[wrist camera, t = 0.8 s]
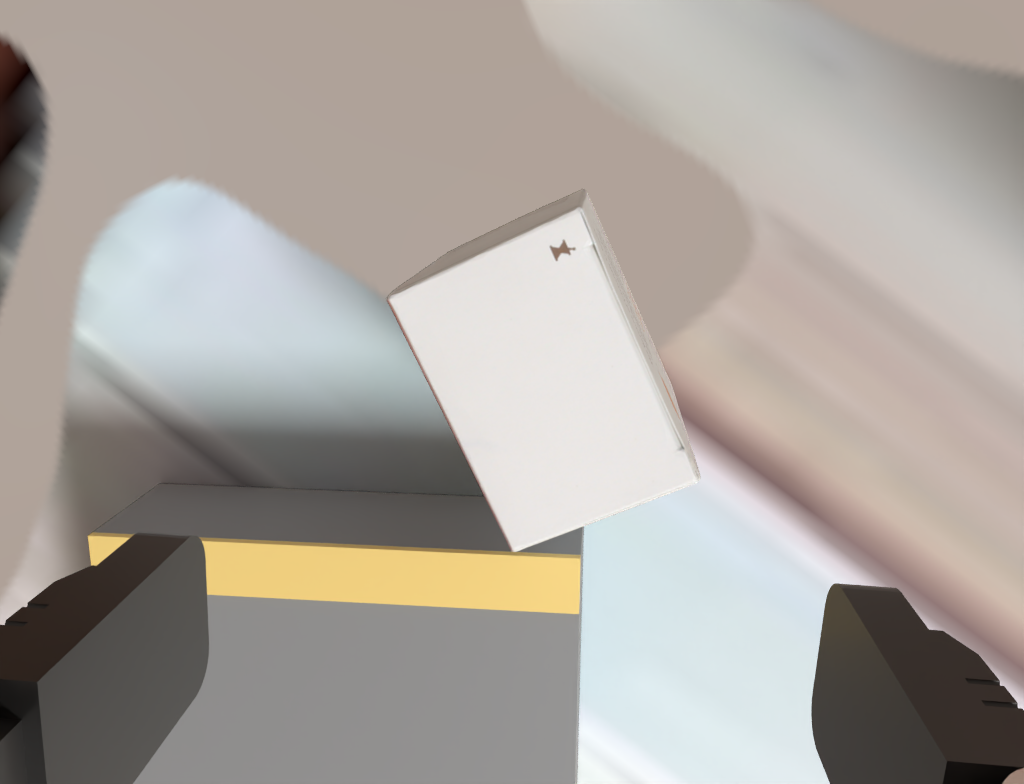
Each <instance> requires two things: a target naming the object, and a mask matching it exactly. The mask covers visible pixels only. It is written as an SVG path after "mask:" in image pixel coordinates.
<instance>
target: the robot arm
mask: <svg viewBox="0 0 1024 784" xmlns="http://www.w3.org/2000/svg"><path fill="white" fill-rule="evenodd" d="M208 657H209V630H208V605H207V581H206V558H205V550H204V546H203V543H202V541H201V539H200V538H199V537H198V536H194V535H180V534H166V533H152V532H138V533H136V534H134V535H133V536H132V537H131V538H129V539H128V540H127V541H126V542H125V543H123V544H122V545H121V546H120V547H119V548H117V549H116V550H115V551H114V552H113V553H111V554H110V555H109V556H108V557H106V558H105V559H104V560H103V561H102V562H100V563H99V564H98V565H97V566H96V565H92V566H90V567H87V568H85V569H83V570H81V571H78V572H76V573H74V574H71V575H69V576H67V577H65V578H62V579H60V580H58V581H55V582H54V583H52V584H51V585H50V586H49V587H47V588H46V589H45V590H44V591H42V592H41V593H40V594H38V595H37V596H36V597H35V598H33V599H32V600H31V601H30V602H28V606H27V607H22V608H21V609H20V610H18V611H17V612H16V613H15V614H13V615H12V616H11V617H9V618H8V619H7V620H6V623H5V625H0V784H133V783H134V782H135V780H136V779H137V777H138V776H139V775H140V773H141V772H142V771H143V769H144V768H145V766H146V765H147V764H148V762H149V761H150V760H151V758H152V757H153V755H154V754H155V753H156V751H157V750H158V749H159V747H160V746H161V744H162V743H163V742H164V740H165V739H166V737H167V736H168V735H169V733H170V732H171V731H172V729H173V728H174V726H175V725H176V724H177V722H178V721H179V720H180V718H181V717H182V715H183V714H184V713H185V711H186V710H187V708H188V707H189V706H190V704H191V703H192V702H193V700H194V699H195V697H196V696H197V694H198V692H199V690H200V688H201V686H202V683H203V680H204V677H205V673H206V669H207V664H208ZM812 729H813V736H814V741H815V745H816V749H817V752H818V754H819V757H820V759H821V762H822V764H823V767H824V769H825V772H826V774H827V777H828V779H829V782H830V784H1024V710H1023V709H1019V708H1018V707H1017V702H1016V701H1015V699H1014V698H1013V697H1012V696H1011V694H1010V693H1009V692H1008V691H1007V689H1006V688H1005V687H1004V686H1000V681H999V679H998V678H997V677H996V676H995V674H994V673H993V672H992V671H991V670H990V668H989V667H988V666H987V665H986V663H985V662H984V661H983V660H982V658H981V657H980V656H979V655H978V654H977V653H975V652H974V651H972V650H971V649H969V648H968V647H966V646H965V645H963V644H962V643H960V642H959V641H957V640H956V639H954V638H953V637H951V636H950V635H948V634H947V633H945V632H944V631H938V630H929V629H928V628H927V627H926V625H925V624H924V623H923V621H922V620H921V619H920V617H919V616H918V615H917V613H916V612H915V610H914V609H913V608H912V606H911V605H910V604H909V602H908V601H907V600H906V598H905V597H904V596H903V594H902V593H901V592H900V591H899V590H898V589H897V588H889V587H875V586H862V585H848V584H833V585H832V586H831V588H830V590H829V592H828V595H827V599H826V604H825V610H824V617H823V624H822V631H821V638H820V645H819V653H818V660H817V667H816V674H815V681H814V688H813V696H812Z"/></svg>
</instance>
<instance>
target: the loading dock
mask: <svg viewBox="0 0 1024 784" xmlns="http://www.w3.org/2000/svg"><path fill="white" fill-rule="evenodd" d="M138 532H152V533H166V534H180V535H194V536H198V537H199V538H200V539H201V541H202V543H203V546H204V550H205V558H206V581H207V605H208V630H209V657H208V664H207V669H206V673H205V677H204V680H203V683H202V686H201V688H200V690H199V692H198V694H197V696H196V697H195V699H194V700H193V702H192V703H191V704H190V706H189V707H188V708H187V710H186V711H185V713H184V714H183V715H182V717H181V718H180V720H179V721H178V722H177V724H176V725H175V726H174V728H173V729H172V731H171V732H170V733H169V735H168V736H167V737H166V739H165V740H164V742H163V743H162V744H161V746H160V747H159V749H158V750H157V751H156V753H155V754H154V755H153V757H152V758H151V760H150V761H149V762H148V764H147V765H146V766H145V768H144V769H143V771H142V772H141V773H140V775H139V776H138V777H137V779H136V780H135V782H134V783H133V784H577V769H578V730H579V691H580V652H581V613H582V574H583V535H584V526H583V527H581V528H578V529H575V530H573V531H570V532H567V533H565V534H562V535H559V536H557V537H554V538H551V539H549V540H546V541H543V542H541V543H538V544H535V545H533V546H530V547H527V548H525V549H522V550H520V551H517V552H512V551H511V550H510V548H509V546H508V543H507V541H506V539H505V537H504V535H503V533H502V531H501V529H500V527H499V525H498V523H497V521H496V519H495V517H494V515H493V513H492V511H491V509H490V507H489V505H488V503H487V501H486V499H485V497H484V496H459V495H435V494H410V493H385V492H361V491H336V490H311V489H287V488H262V487H237V486H213V485H188V484H163V483H160V484H158V485H157V486H156V487H154V488H153V489H151V490H150V491H149V492H147V493H146V494H145V495H143V496H142V497H140V498H139V499H138V500H136V501H135V502H134V503H132V504H131V505H129V506H128V507H127V508H125V509H124V510H123V511H121V512H120V513H118V514H117V515H116V516H114V517H113V518H111V519H110V520H109V521H107V522H106V523H105V524H103V525H102V526H100V527H99V528H98V529H96V530H95V531H94V532H92V533H91V534H89V535H88V543H89V551H90V559H91V566H92V565H96V566H97V565H98V564H99V563H100V562H102V561H103V560H104V559H105V558H106V557H108V556H109V555H110V554H111V553H113V552H114V551H115V550H116V549H117V548H119V547H120V546H121V545H122V544H123V543H125V542H126V541H127V540H128V539H129V538H131V537H132V536H133V535H134V534H136V533H138Z"/></svg>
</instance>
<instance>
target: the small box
mask: <svg viewBox="0 0 1024 784" xmlns="http://www.w3.org/2000/svg"><path fill="white" fill-rule="evenodd" d="M387 302H388V304H389V306H390V307H391V309H392V311H393V313H394V315H395V317H396V319H397V322H398V324H399V326H400V328H401V330H402V332H403V334H404V336H405V338H406V340H407V342H408V344H409V346H410V348H411V350H412V352H413V354H414V356H415V358H416V360H417V362H418V364H419V366H420V368H421V370H422V372H423V374H424V376H425V378H426V380H427V382H428V384H429V386H430V388H431V390H432V392H433V394H434V396H435V398H436V400H437V402H438V404H439V406H440V408H441V410H442V412H443V414H444V416H445V418H446V420H447V422H448V424H449V426H450V428H451V430H452V432H453V434H454V436H455V438H456V440H457V442H458V444H459V446H460V448H461V450H462V452H463V454H464V456H465V458H466V460H467V462H468V464H469V466H470V468H471V470H472V472H473V474H474V476H475V478H476V480H477V482H478V484H479V487H480V489H481V491H482V493H483V495H484V497H485V499H486V501H487V503H488V505H489V507H490V509H491V511H492V513H493V515H494V517H495V519H496V521H497V523H498V525H499V527H500V529H501V531H502V533H503V535H504V537H505V539H506V541H507V543H508V546H509V548H510V550H511V551H512V552H517V551H520V550H522V549H525V548H527V547H530V546H533V545H535V544H538V543H541V542H543V541H546V540H549V539H551V538H554V537H557V536H559V535H562V534H565V533H567V532H570V531H573V530H575V529H578V528H581V527H583V526H586V525H588V524H591V523H594V522H596V521H599V520H602V519H604V518H607V517H610V516H612V515H615V514H617V513H620V512H623V511H625V510H628V509H631V508H633V507H636V506H639V505H641V504H644V503H646V502H649V501H652V500H654V499H657V498H659V497H662V496H665V495H667V494H670V493H672V492H675V491H678V490H680V489H683V488H685V487H688V486H691V485H694V484H696V483H698V482H699V480H700V473H699V470H698V467H697V463H696V460H695V457H694V454H693V451H692V448H691V445H690V441H689V438H688V435H687V432H686V429H685V426H684V423H683V420H682V417H681V413H680V410H679V407H678V404H677V400H676V397H675V394H674V391H673V388H672V385H671V382H670V380H669V378H668V375H667V373H666V371H665V369H664V366H663V364H662V362H661V360H660V357H659V355H658V353H657V351H656V348H655V346H654V344H653V341H652V339H651V337H650V335H649V332H648V330H647V328H646V325H645V323H644V321H643V319H642V316H641V314H640V312H639V310H638V307H637V305H636V303H635V301H634V298H633V296H632V294H631V291H630V289H629V287H628V285H627V282H626V280H625V278H624V275H623V273H622V271H621V268H620V266H619V264H618V261H617V259H616V257H615V254H614V252H613V250H612V248H611V245H610V243H609V241H608V238H607V236H606V234H605V232H604V229H603V227H602V225H601V223H600V220H599V218H598V216H597V213H596V211H595V209H594V207H593V204H592V202H591V200H590V197H589V195H588V193H587V191H586V190H585V189H581V190H579V191H577V192H575V193H573V194H571V195H568V196H566V197H564V198H562V199H559V200H557V201H555V202H553V203H550V204H548V205H546V206H544V207H541V208H539V209H537V210H535V211H533V212H531V213H528V214H526V215H524V216H522V217H520V218H518V219H515V220H513V221H511V222H509V223H507V224H505V225H503V226H501V227H499V228H497V229H495V230H492V231H490V232H488V233H486V234H484V235H482V236H480V237H478V238H476V239H474V240H472V241H470V242H468V243H465V244H463V245H461V246H459V247H457V248H455V249H453V250H451V251H449V252H447V253H446V254H445V255H443V256H442V257H440V258H439V259H437V260H436V261H434V262H433V263H432V264H430V265H429V266H428V267H426V268H425V269H423V270H422V271H420V272H419V273H418V274H416V275H415V276H413V277H412V278H410V279H409V280H407V281H406V282H404V283H403V284H401V285H400V286H399V287H398V288H396V289H395V290H393V291H392V292H391V293H390V294H389V295H388V297H387Z"/></svg>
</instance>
